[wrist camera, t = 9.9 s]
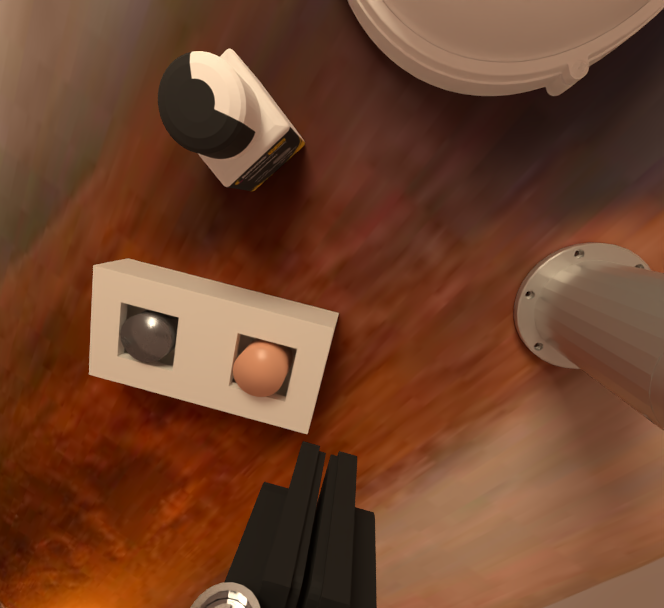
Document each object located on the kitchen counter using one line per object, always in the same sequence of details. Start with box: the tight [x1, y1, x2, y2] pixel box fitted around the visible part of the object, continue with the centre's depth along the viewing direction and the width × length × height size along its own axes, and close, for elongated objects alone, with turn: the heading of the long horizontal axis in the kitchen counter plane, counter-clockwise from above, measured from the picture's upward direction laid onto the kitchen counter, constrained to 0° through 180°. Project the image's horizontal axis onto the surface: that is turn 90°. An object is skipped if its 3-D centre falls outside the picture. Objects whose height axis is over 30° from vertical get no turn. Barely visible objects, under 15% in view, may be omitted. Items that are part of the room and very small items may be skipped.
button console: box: [89, 259, 339, 434], centre depth 37 cm, size 24×12×5 cm, turn 76°
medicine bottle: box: [158, 49, 305, 191], centre depth 28 cm, size 7×7×12 cm
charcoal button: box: [120, 309, 179, 363], centre depth 36 cm, size 5×5×4 cm
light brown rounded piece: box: [233, 338, 293, 397], centre depth 35 cm, size 5×5×4 cm
